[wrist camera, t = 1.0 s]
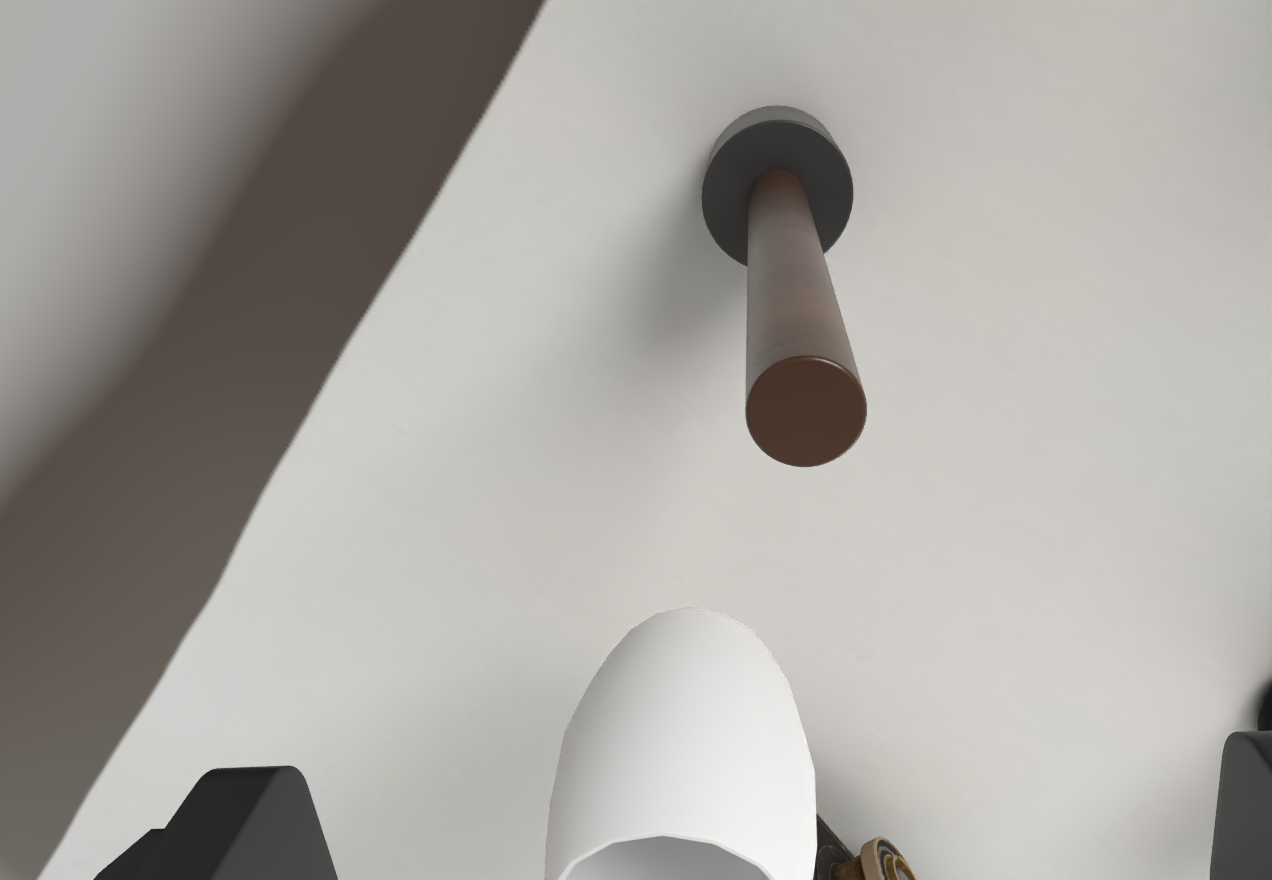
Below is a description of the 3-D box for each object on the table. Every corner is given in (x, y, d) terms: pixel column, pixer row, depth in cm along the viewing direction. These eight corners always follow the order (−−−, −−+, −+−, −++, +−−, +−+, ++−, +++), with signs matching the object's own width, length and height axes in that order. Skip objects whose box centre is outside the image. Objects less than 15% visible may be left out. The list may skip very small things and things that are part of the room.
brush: (700, 115, 37) (625, 273, 15) (836, 96, 36) (970, 235, 14) (715, 247, 39) (667, 565, 17) (844, 232, 38) (974, 544, 16)
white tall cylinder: (591, 486, 43) (463, 866, 24) (748, 418, 41) (747, 772, 22) (668, 622, 45) (608, 1069, 26) (822, 563, 43) (877, 999, 24)
